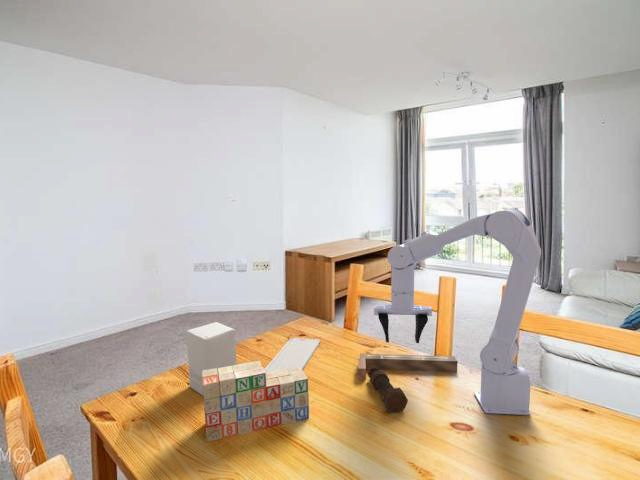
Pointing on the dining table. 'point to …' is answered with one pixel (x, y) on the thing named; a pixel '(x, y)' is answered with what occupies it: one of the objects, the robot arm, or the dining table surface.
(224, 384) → the stack of blocks
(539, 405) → the dining table surface
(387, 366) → the walnut fence
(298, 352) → the baseboard molding
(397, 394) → the bolt
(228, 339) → the supplement box
